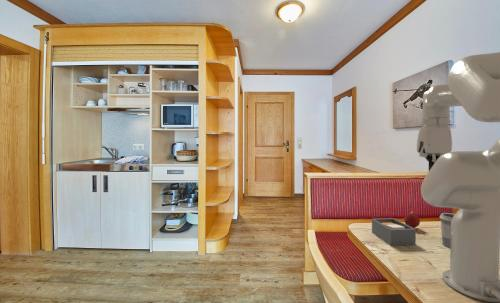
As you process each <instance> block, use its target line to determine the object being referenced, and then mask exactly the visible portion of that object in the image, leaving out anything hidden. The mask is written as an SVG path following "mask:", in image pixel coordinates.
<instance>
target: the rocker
mask: <svg viewBox="0 0 500 303" xmlns="http://www.w3.org/2000/svg"><path fill="white" fill-rule="evenodd" d="M382 224H383V225H385V226H387V227H388V228H390V229H405V227H403V226H400V225H397V224H394V223H391V222H389V223H382Z"/></svg>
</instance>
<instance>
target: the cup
mask: <svg viewBox="0 0 500 303" xmlns="http://www.w3.org/2000/svg"><path fill="white" fill-rule="evenodd" d="M455 214H456V213H449V212H442V213H441V214H440V215H439V219H440V230H441V232H440V233H441V240H442V242H441V243H442V245H443V246H444V247H446V248H448V249H451V221H452V218H453V217H454V215H455Z"/></svg>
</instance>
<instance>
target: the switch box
mask: <svg viewBox="0 0 500 303" xmlns="http://www.w3.org/2000/svg"><path fill="white" fill-rule="evenodd" d="M389 222H391V223H394V224H397V225H400V226H403V227H405V229H390V228H388V227H387V226H385V225H383V224H382V223H389ZM416 231H417V229H416V228H412V227H410V226H408V225H406V224H405V222H402V221H400V220H399V219H396V218H393V217H388V218H387V217H386V218H385V217H384V218H371V233H372V234H374V235H375V236H376V237H378V238H379V239H381V240H382V241H383V242H385V243H386V244H387V245H389V246H416V243H417V242H416V238H417V237H416V236H417V234H416V233H417V232H416Z"/></svg>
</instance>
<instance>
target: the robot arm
mask: <svg viewBox="0 0 500 303" xmlns="http://www.w3.org/2000/svg"><path fill="white" fill-rule="evenodd" d="M451 107H462V108H463V109H464V110H465V112H466V113H467V114H468V115H469V116H470V117H471V118H472V119H473V120H475V121H479V122H482V123H500V51H499V52H490V53H482V54H473V55H468V56H464V57H463V58H461V59H459V60H458V61H456V62H455V64H454V65H453V66H451V68H450V70H449V72H448V74H447V84H446V83H444V84H436V85H433V86H431V87H430V88H429V89H428V90H426V91H424V93H423V94H422V124H421V125H422V126H421V127H420V128H419V130H418V135H417V140H416V152H417V153H418V154H419V157H421V158H425V160H426V161H427V162H428V172H427V173H426V174H425V176H424V179H423V180H422V181H421V186H420V193H421V197H422V199H423V200H424V202H425V203H426V204H428V205H429V206H432V207H434V208H435V207H437V208H442V209H443V208H444V209H445V208H446V209H458V210H457V211H456V213H454V214H455V215H454V217H453V218H452V221H451V248H450V249H449V250H450V254H449V257H450V258H449V259H450V260H449V269H448V270H447V269H446V270H445V271H443V272H442V279H443V281H444V282H445V283H446V284H447V285H448V286H449V287H450V288H452V289H454V290H455V291H457V292H459V293H462V294H463V295H465V296H468V297H470V298H473V299H477V300H480V301H484V302H490V303H500V279H499V278H500V276H499V275H500V138H499V139H498V140H496V142H495V143H494V144H493V145H492V146H491V147H489V148H488V149H485V150H477V151H476V150H475V151H474V150H470V151H469V150H467V151H466V150H460V151H459V150H458V151H452V149H453V139H452V137H453V136H452V131H451V127H450V125H449V124H451V120H450V108H451Z"/></svg>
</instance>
